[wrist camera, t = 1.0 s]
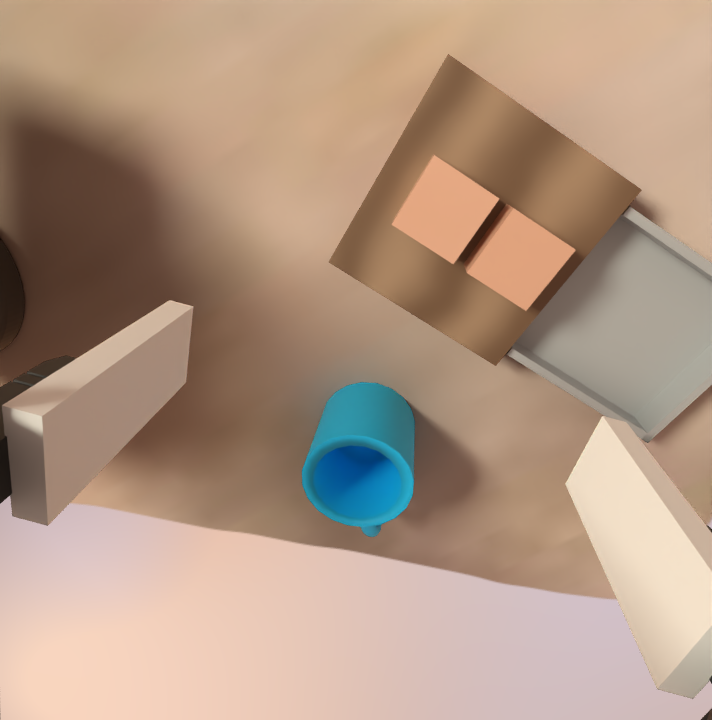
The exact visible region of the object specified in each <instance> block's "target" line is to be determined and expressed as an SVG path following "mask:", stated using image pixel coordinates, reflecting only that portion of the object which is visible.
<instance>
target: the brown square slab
mask: <svg viewBox="0 0 712 720" xmlns="http://www.w3.org/2000/svg"><path fill="white" fill-rule="evenodd" d="M433 155H435V156H437V157H438V158H440V159H441V160H443V161H444V162H446V163H447V164H449V165H450V166H452V167H453V168H455V169H456V170H458V171H459V172H461V173H462V174H464V175H465V176H466V177H468V178H469V179H471V180H472V181H474V182H475V183H477V184H478V185H480V186H481V187H483V188H484V189H486V190H487V191H489V192H490V193H492V194H493V195H495V196H496V197H498V198H499V200H498V202H497V203H496V204H495V206H494V207H493V209H492V210H491V212H490V213H489V214H488V216H487V217H486V219H485V220H484V222H483V223H482V224H481V226H480V227H479V229H478V230H477V232H476V233H475V234H474V236H473V237H472V239H471V240H470V241H469V243H468V244H467V246H466V247H465V249H464V250H463V251H462V253H461V254H460V256H459V257H458V259H457V260H456V261H455V263H454V264H452V263H451V262H449V261H447V260H446V259H444V258H443V257H441V256H440V255H438V254H437V253H435V252H433V251H432V250H430V249H429V248H427V247H426V246H424V245H422V244H421V243H419V242H418V241H416V240H415V239H413V238H412V237H410V236H408V235H407V234H405V233H404V232H402V231H401V230H399V229H398V228H396V227H394V226H393V225H392V222H393V219H394V218H395V216H396V214H397V213H398V211H399V210H400V208H401V206H402V205H403V203H404V201H405V200H406V198H407V196H408V195H409V193H410V192H411V190H412V188H413V187H414V185H415V183H416V182H417V180H418V179H419V177H420V175H421V174H422V172H423V170H424V169H425V167H426V166H427V164H428V162H429V161H430V159H431V157H432V156H433ZM640 192H641V189H640V188H638V187H637V186H636V185H634V184H633V183H631V182H630V181H628V180H627V179H626V178H624V177H623V176H621V175H620V174H618V173H617V172H616V171H614V170H613V169H611V168H610V167H608V166H607V165H606V164H604V163H603V162H601V161H600V160H598V159H597V158H596V157H594V156H593V155H591V154H590V153H588V152H587V151H586V150H584V149H583V148H581V147H580V146H579V145H577V144H576V143H574V142H573V141H571V140H570V139H569V138H567V137H566V136H564V135H563V134H561V133H560V132H559V131H557V130H556V129H554V128H553V127H551V126H550V125H549V124H547V123H546V122H544V121H543V120H541V119H540V118H539V117H537V116H536V115H534V114H533V113H531V112H530V111H529V110H527V109H526V108H524V107H523V106H522V105H520V104H519V103H517V102H516V101H514V100H513V99H512V98H510V97H509V96H507V95H506V94H504V93H503V92H502V91H500V90H499V89H497V88H496V87H494V86H493V85H492V84H490V83H489V82H487V81H486V80H484V79H483V78H482V77H480V76H479V75H477V74H476V73H474V72H473V71H472V70H470V69H469V68H467V67H466V66H464V65H463V64H462V63H460V62H459V61H457V60H456V59H455V58H453V57H452V56H450V55H449V54H448V55H447V57H446V59H445V61H444V62H443V64H442V66H441V68H440V69H439V71H438V73H437V75H436V76H435V78H434V80H433V81H432V83H431V85H430V87H429V88H428V90H427V92H426V94H425V95H424V97H423V99H422V101H421V102H420V104H419V106H418V108H417V109H416V111H415V113H414V114H413V116H412V118H411V120H410V121H409V123H408V125H407V127H406V128H405V130H404V132H403V134H402V135H401V137H400V139H399V141H398V142H397V144H396V146H395V148H394V149H393V151H392V153H391V154H390V156H389V158H388V160H387V161H386V163H385V165H384V167H383V168H382V170H381V172H380V174H379V175H378V177H377V179H376V181H375V182H374V184H373V186H372V188H371V189H370V191H369V193H368V194H367V196H366V198H365V200H364V201H363V203H362V205H361V207H360V208H359V210H358V212H357V214H356V215H355V217H354V219H353V221H352V222H351V224H350V226H349V228H348V229H347V231H346V233H345V234H344V236H343V238H342V240H341V241H340V243H339V245H338V247H337V248H336V250H335V252H334V254H333V255H332V257H331V259H330V261H329V263H331V264H332V265H334V266H336V267H337V268H339V269H340V270H342V271H344V272H345V273H347V274H348V275H350V276H352V277H353V278H355V279H357V280H358V281H360V282H361V283H363V284H365V285H366V286H368V287H369V288H371V289H373V290H374V291H376V292H377V293H379V294H381V295H382V296H384V297H386V298H387V299H389V300H390V301H392V302H394V303H395V304H397V305H398V306H400V307H402V308H403V309H405V310H406V311H408V312H410V313H411V314H413V315H415V316H416V317H418V318H419V319H421V320H423V321H424V322H426V323H427V324H429V325H431V326H432V327H434V328H435V329H437V330H439V331H440V332H442V333H444V334H445V335H447V336H448V337H450V338H452V339H453V340H455V341H456V342H458V343H460V344H461V345H463V346H465V347H466V348H468V349H469V350H471V351H473V352H474V353H476V354H477V355H479V356H481V357H482V358H484V359H485V360H487V361H489V362H490V363H492V364H494V365H495V366H496V365H497V364H498V362H499V361H500V360H501V359H502V358H503V356H504V355H505V354H506V353H507V352H508V350H509V349H510V348H511V347H512V346H513V344H514V343H515V342H516V341H517V340H518V338H519V337H520V336H521V335H522V334H523V332H524V331H525V330H526V329H527V328H528V326H529V325H530V324H531V323H532V322H533V320H534V319H535V318H536V317H537V316H538V314H539V313H540V312H541V311H542V309H543V308H544V307H545V306H546V305H547V303H548V302H549V301H550V300H551V299H552V297H553V296H554V295H555V294H556V293H557V291H558V290H559V289H560V288H561V287H562V285H563V284H564V283H565V282H566V281H567V279H568V278H569V277H570V276H571V275H572V273H573V272H574V271H575V270H576V269H577V267H578V266H579V265H580V264H581V263H582V261H583V260H584V259H585V258H586V257H587V255H588V254H589V253H590V252H591V251H592V249H593V248H594V247H595V246H596V244H597V243H598V242H599V241H600V240H601V238H602V237H603V236H604V235H605V234H606V232H607V231H608V230H609V229H610V228H611V226H612V225H613V224H614V223H615V222H616V220H617V219H618V218H619V217H620V216H621V214H622V213H623V212H624V211H625V210H626V208H627V207H628V206H629V205H630V204H631V202H632V201H633V200H634V199H635V198H636V196H637V195H638V194H639V193H640ZM506 204H508V205H510V206H511V207H513V208H514V209H516V210H517V211H519V212H520V213H522V214H523V215H525V216H526V217H528V218H529V219H531V220H532V221H534V222H535V223H537V224H538V225H540V226H541V227H543V228H544V229H546V230H547V231H549V232H550V233H552V234H553V235H555V236H556V237H558V238H559V239H561V240H562V241H564V242H565V243H567V244H568V245H569V246H571V247H572V248H574V249H575V252H574V253H573V254H572V255H571V257H570V258H569V259H568V260H567V261H566V263H565V264H564V265H563V266H562V268H561V269H560V270H559V271H558V273H557V274H556V275H555V276H554V277H553V279H552V280H551V281H550V282H549V284H548V285H547V286H546V287H545V288H544V290H543V291H542V292H541V293H540V295H539V296H538V297H537V298H536V300H535V301H534V302H533V303H532V304H531V306H530V307H529V308H528V309H527V311H525V310H524V309H522V308H521V307H519V306H517V305H516V304H514V303H513V302H511V301H510V300H508V299H507V298H505V297H503V296H502V295H500V294H499V293H497V292H496V291H494V290H493V289H491V288H489V287H488V286H486V285H485V284H483V283H482V282H480V281H479V280H477V279H475V278H474V277H472V276H471V275H469V274H468V273H467V272H466V269H465V267H464V263H465V261H466V260H467V258H468V257H469V256H470V254H471V253H472V251H473V250H474V249H475V247H476V246H477V244H478V243H479V242H480V240H481V239H482V237H483V236H484V235H485V233H486V232H487V230H488V229H489V228H490V226H491V225H492V223H493V222H494V220H495V219H496V218H497V216H498V215H499V213H500V212H501V211H502V209H503V208H504V206H505V205H506Z"/></svg>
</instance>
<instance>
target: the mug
mask: <svg viewBox="0 0 712 720" xmlns="http://www.w3.org/2000/svg"><path fill="white" fill-rule="evenodd" d="M414 440H415V420H414V417H413V413H412V410H411V408H410V406H409V405H408V404H407V402H406V401H405V399H404V398H403V397H402V396H401V395H399V394H398V393H397V392H395V391H394V390H393V389H391V388H389V387H386V386H383V385H380V384H378V383H366V382H360V383H356V384H351V385H347V386H345V387H344V388H342V389H340V390H339V391H337V392H335V393H334V395H333V396H332V397H331V398H330V399H329V400H328V401H327V403H326V406H325V409H324V411H323V414H322V417H321V420H320V422H319V425H318V428H317V431H316V433H315V436H314V439H313V442H312V444H311V447H310V450H309V453H308V455H307V458H306V461H305V464H304V466H303V469H302V485H303V488H304V490H305V493H306V495H307V497H308V499H309V500H310V502H311V503H312V504H313V505H314V506H315V507H316V509H317V510H318V511H320V512H321V513H323V514H324V515H326V516H327V517H329V518H330V519H332V520H334V521H337V522H340V523H342V524H345V525H349V526H359V527H361V529H362V532H363V533H364V534H365V535H367V536H369V537H375V536H377V535H378V534H379V532H380V530H381V524H383V523H385V522H388V521H390V520H392V519H394V518H396V517H397V516H398V515H399V514H400V513H401V512H402V511H404V510H405V509H406V507H407V506H408V504H409V502H410V500H411V498H412V496H413V485H414Z"/></svg>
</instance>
